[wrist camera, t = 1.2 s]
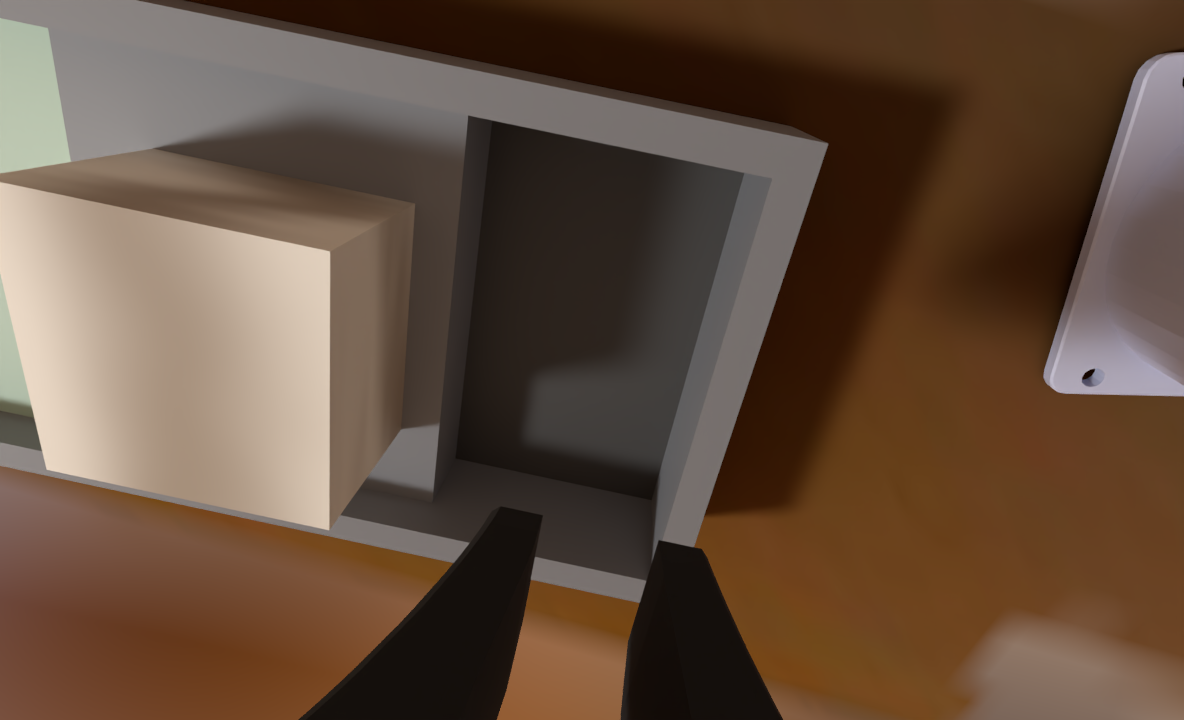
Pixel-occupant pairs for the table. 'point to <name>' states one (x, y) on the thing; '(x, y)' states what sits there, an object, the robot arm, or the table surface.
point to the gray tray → (465, 259)
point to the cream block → (209, 328)
